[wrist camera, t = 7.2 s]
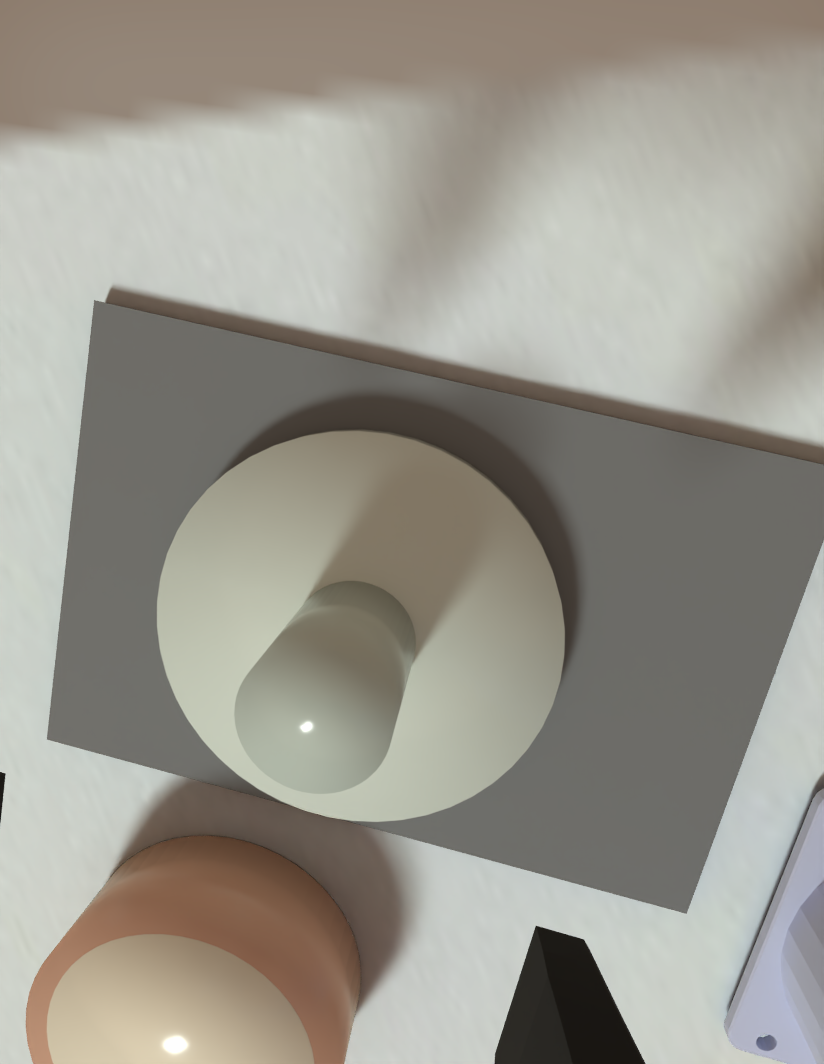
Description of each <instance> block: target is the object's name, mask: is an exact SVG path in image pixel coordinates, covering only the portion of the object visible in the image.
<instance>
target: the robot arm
mask: <svg viewBox="0 0 824 1064" xmlns="http://www.w3.org/2000/svg"><path fill="white" fill-rule="evenodd" d="M4 782H5V773H1V772H0V821H1V812H2V802H3V792H4ZM724 1028H725V1031H726V1034H727V1036H728V1039H729V1042H730V1043H731V1044H732V1045H733V1046H734V1047H735V1048H737V1049H739V1050H742V1051H745V1052H749V1053H752V1054H756V1055H759V1056H763V1057H766V1058H770V1059H773V1060H777V1061H780V1062H784V1063H787V1064H824V788H823V789H822V790H820V791H819V792H817V794H816V795H815V797H814V798H813V800H812V803H811V805H810V808H809V810H808V813H807V815H806V818H805V820H804V823H803V825H802V828H801V830H800V833H799V835H798V838H797V840H796V843H795V845H794V848H793V850H792V853H791V855H790V858H789V860H788V863H787V865H786V868H785V870H784V873H783V876H782V878H781V881H780V883H779V886H778V888H777V891H776V893H775V896H774V898H773V901H772V903H771V906H770V908H769V911H768V913H767V916H766V918H765V921H764V923H763V926H762V928H761V931H760V933H759V936H758V938H757V941H756V943H755V946H754V948H753V951H752V953H751V956H750V958H749V961H748V963H747V966H746V968H745V971H744V973H743V976H742V978H741V981H740V983H739V986H738V988H737V991H736V993H735V996H734V998H733V1001H732V1003H731V1006H730V1008H729V1011H728V1013H727V1016H726V1019H725V1022H724ZM764 1034H766V1035H768V1036H765V1037H759V1036H761V1035H764ZM495 1064H645V1062H644V1060H643V1058H642V1056H641V1054H640V1052H639V1050H638V1048H637V1046H636V1044H635V1042H634V1040H633V1038H632V1036H631V1034H630V1032H629V1030H628V1028H627V1026H626V1024H625V1022H624V1020H623V1018H622V1016H621V1014H620V1012H619V1010H618V1008H617V1006H616V1004H615V1001H614V999H613V997H612V995H611V993H610V991H609V989H608V987H607V985H606V983H605V981H604V979H603V977H602V975H601V972H600V970H599V968H598V966H597V964H596V962H595V960H594V958H593V956H592V954H591V952H590V950H589V948H588V946H587V944H586V943H585V941H584V939H580V938H577V937H573V936H570V935H566V934H563V933H559V932H556V931H552V930H549V929H545V928H542V927H538V926H536V927H535V930H534V934H533V937H532V940H531V943H530V946H529V949H528V952H527V955H526V959H525V962H524V965H523V968H522V971H521V974H520V977H519V981H518V984H517V987H516V990H515V993H514V996H513V999H512V1003H511V1006H510V1009H509V1012H508V1015H507V1018H506V1021H505V1025H504V1028H503V1031H502V1034H501V1037H500V1040H499V1043H498V1046H497V1050H496V1053H495Z"/></svg>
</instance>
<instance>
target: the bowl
mask: <svg viewBox="0 0 824 1064" xmlns="http://www.w3.org/2000/svg"><path fill="white" fill-rule="evenodd" d="M360 986H361V966H360V959H359V952H358V949H357V945H356V942H355V939H354V936H353V933H352V931H351V929H350V927H349V924H348V922H347V920H346V918H345V917H344V915H343V914H342V912H341V910H340V909H339V907H338V905H337V904H336V903H335V902H334V900H333V899H332V898H331V897H330V895H329V894H328V893H327V892H326V890H325V889H324V888H323V887H322V886H321V885H320V884H319V883H318V882H317V881H316V880H315V879H313V878H312V877H311V876H310V875H309V874H307V873H306V872H305V871H304V870H302V869H301V868H300V867H298V866H297V865H295V864H294V863H292V862H291V861H289V860H287V859H286V858H284V857H282V856H281V855H279V854H276V853H274V852H272V851H270V850H268V849H266V848H264V847H261V846H258V845H255V844H252V843H249V842H246V841H242V840H237V839H232V838H228V837H218V836H188V837H181V838H175V839H171V840H167V841H164V842H161V843H157V844H155V845H153V846H151V847H148V848H146V849H144V850H142V851H140V852H139V853H137V854H136V855H134V856H133V857H131V858H129V859H128V860H127V861H126V862H125V863H124V864H123V865H121V866H120V867H119V868H118V869H117V870H116V871H115V873H114V874H113V875H112V876H111V877H110V879H109V880H108V881H107V882H106V884H105V885H104V886H103V888H102V889H101V890H100V891H99V893H98V894H97V895H96V896H95V898H94V899H93V900H92V902H91V903H90V904H89V905H88V907H87V908H86V909H85V910H84V912H83V913H82V914H81V915H80V917H79V918H78V919H77V921H76V922H75V923H74V924H73V926H72V927H71V928H70V929H69V931H68V932H67V933H66V935H65V936H64V937H63V938H62V940H61V941H60V942H59V943H58V945H57V946H56V947H55V949H54V950H53V951H52V952H51V954H50V955H49V956H48V957H47V959H46V960H45V961H44V963H43V964H42V966H41V968H40V970H39V971H38V973H37V975H36V977H35V979H34V982H33V984H32V987H31V990H30V993H29V998H28V1003H27V1008H26V1032H27V1041H28V1046H29V1050H30V1054H31V1058H32V1061H33V1064H344V1062H345V1057H346V1053H347V1048H348V1044H349V1039H350V1035H351V1030H352V1026H353V1021H354V1017H355V1012H356V1008H357V1003H358V999H359V993H360Z"/></svg>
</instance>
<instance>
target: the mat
mask: <svg viewBox="0 0 824 1064" xmlns="http://www.w3.org/2000/svg"><path fill="white" fill-rule="evenodd" d="M353 429H365V430H375V431H384V432H392V433H396V434H400V435H404V436H408V437H412V438H416V439H419V440H422V441H424V442H427V443H430V444H432V445H435V446H437V447H440V448H443V449H444V450H446V451H448V452H450V453H452V454H454V455H455V456H457V457H459V458H461V459H463V460H465V461H466V462H468V463H469V464H471V465H472V466H474V467H475V468H476V469H478V470H479V471H480V472H482V473H483V474H485V475H486V476H487V477H489V478H490V479H491V480H492V481H493V482H494V483H495V484H496V485H497V486H498V487H499V488H500V489H501V490H503V491H504V492H505V493H506V494H507V495H508V496H509V497H510V498H511V500H512V501H513V502H514V503H515V505H516V506H517V507H518V508H519V510H520V511H521V512H522V513H523V515H524V516H525V517H526V518H527V520H528V521H529V523H530V525H531V526H532V528H533V530H534V531H535V533H536V535H537V536H538V538H539V540H540V541H541V544H542V546H543V548H544V551H545V553H546V555H547V558H548V560H549V562H550V564H551V567H552V570H553V574H554V577H555V581H556V584H557V588H558V592H559V595H560V599H561V603H562V611H563V619H564V627H565V649H564V661H563V667H562V673H561V680H560V683H559V687H558V690H557V693H556V696H555V700H554V703H553V706H552V708H551V710H550V712H549V714H548V716H547V718H546V720H545V723H544V725H543V727H542V729H541V730H540V732H539V733H538V735H537V736H536V738H535V739H534V741H533V742H532V744H531V745H530V747H529V748H528V749H527V751H526V752H525V753H524V754H523V755H522V756H521V757H520V758H519V760H518V761H517V762H516V763H515V764H514V765H513V766H512V767H511V768H510V769H509V770H508V771H507V772H506V773H504V774H503V775H502V776H501V777H500V778H499V779H497V780H496V781H495V782H494V783H493V784H491V785H490V786H488V787H487V788H485V789H483V790H482V791H480V792H479V793H477V794H476V795H474V796H473V797H471V798H469V799H467V800H464V801H462V802H460V803H458V804H456V805H454V806H452V807H450V808H447V809H444V810H441V811H438V812H435V813H432V814H429V815H425V816H420V817H415V818H410V819H405V820H396V821H383V822H367V821H350V820H345V821H348V822H352V823H356V824H359V825H363V826H367V827H370V828H374V829H378V830H381V831H385V832H389V833H392V834H396V835H400V836H403V837H407V838H411V839H414V840H418V841H422V842H425V843H429V844H433V845H436V846H440V847H444V848H447V849H451V850H455V851H458V852H462V853H466V854H469V855H473V856H477V857H480V858H484V859H488V860H491V861H495V862H499V863H502V864H506V865H510V866H514V867H517V868H521V869H525V870H528V871H532V872H536V873H539V874H543V875H547V876H550V877H554V878H558V879H561V880H565V881H569V882H572V883H576V884H580V885H583V886H587V887H591V888H594V889H598V890H602V891H605V892H609V893H613V894H616V895H620V896H624V897H627V898H631V899H635V900H638V901H642V902H646V903H649V904H653V905H657V906H660V907H664V908H668V909H671V910H675V911H679V912H682V913H686V914H687V911H688V908H689V905H690V903H691V900H692V897H693V895H694V892H695V889H696V886H697V884H698V881H699V878H700V876H701V873H702V870H703V867H704V865H705V862H706V859H707V856H708V854H709V851H710V848H711V846H712V843H713V840H714V837H715V835H716V832H717V829H718V826H719V824H720V821H721V818H722V816H723V813H724V810H725V807H726V805H727V802H728V799H729V796H730V794H731V791H732V788H733V786H734V783H735V780H736V777H737V775H738V772H739V769H740V766H741V764H742V761H743V758H744V756H745V753H746V750H747V747H748V745H749V742H750V739H751V736H752V734H753V731H754V728H755V726H756V723H757V720H758V717H759V715H760V712H761V709H762V706H763V704H764V701H765V698H766V696H767V693H768V690H769V687H770V685H771V682H772V679H773V677H774V674H775V671H776V668H777V666H778V663H779V660H780V657H781V655H782V652H783V649H784V647H785V644H786V641H787V638H788V636H789V633H790V630H791V627H792V625H793V622H794V619H795V617H796V614H797V611H798V608H799V606H800V603H801V600H802V597H803V595H804V592H805V589H806V587H807V584H808V581H809V578H810V576H811V573H812V570H813V567H814V565H815V562H816V559H817V557H818V554H819V551H820V548H821V546H822V543H823V540H824V465H823V464H819V463H814V462H810V461H805V460H801V459H797V458H792V457H788V456H783V455H779V454H774V453H770V452H765V451H761V450H757V449H752V448H748V447H743V446H739V445H734V444H730V443H725V442H721V441H717V440H712V439H708V438H703V437H699V436H694V435H690V434H686V433H681V432H677V431H672V430H668V429H663V428H659V427H654V426H650V425H646V424H641V423H637V422H632V421H628V420H623V419H619V418H614V417H610V416H606V415H601V414H597V413H592V412H588V411H583V410H579V409H575V408H570V407H566V406H561V405H557V404H552V403H548V402H543V401H539V400H535V399H530V398H526V397H521V396H517V395H512V394H508V393H503V392H499V391H495V390H490V389H486V388H481V387H477V386H472V385H468V384H464V383H459V382H455V381H450V380H446V379H441V378H437V377H432V376H428V375H424V374H419V373H415V372H410V371H406V370H401V369H397V368H392V367H388V366H384V365H379V364H375V363H370V362H366V361H361V360H357V359H353V358H348V357H344V356H339V355H335V354H330V353H326V352H321V351H317V350H313V349H308V348H304V347H299V346H295V345H290V344H286V343H281V342H277V341H273V340H268V339H264V338H259V337H255V336H250V335H246V334H241V333H237V332H233V331H228V330H224V329H219V328H215V327H210V326H206V325H202V324H197V323H193V322H188V321H184V320H179V319H175V318H170V317H166V316H162V315H157V314H153V313H148V312H144V311H139V310H135V309H130V308H126V307H122V306H117V305H113V304H108V303H104V302H99V301H95V300H94V308H93V318H92V327H91V336H90V345H89V355H88V364H87V373H86V382H85V392H84V401H83V410H82V419H81V429H80V438H79V447H78V457H77V466H76V475H75V484H74V494H73V503H72V512H71V521H70V531H69V540H68V549H67V558H66V568H65V577H64V586H63V595H62V605H61V614H60V623H59V632H58V642H57V651H56V660H55V670H54V679H53V688H52V697H51V707H50V716H49V725H48V734H47V739H48V740H51V741H55V742H59V743H62V744H66V745H70V746H73V747H77V748H81V749H84V750H88V751H92V752H95V753H99V754H103V755H106V756H110V757H114V758H117V759H121V760H125V761H128V762H132V763H136V764H139V765H143V766H147V767H150V768H154V769H158V770H161V771H165V772H169V773H172V774H176V775H180V776H183V777H187V778H191V779H194V780H198V781H202V782H205V783H209V784H213V785H216V786H220V787H224V788H227V789H231V790H235V791H238V792H242V793H246V794H249V795H253V796H257V797H260V798H264V799H268V800H271V801H275V802H279V803H282V804H286V805H289V804H287V803H284V802H282V801H280V800H278V799H276V798H274V797H272V796H270V795H268V794H267V793H265V792H263V791H261V790H259V789H257V788H256V787H255V786H253V785H252V784H250V783H249V782H247V781H246V780H244V779H243V778H242V777H240V776H239V775H237V774H236V773H235V772H234V771H233V770H232V769H231V768H229V767H228V766H227V765H226V764H225V763H224V762H223V761H221V760H220V759H219V758H218V757H217V756H216V755H215V753H214V752H213V751H212V750H211V749H210V748H209V747H208V746H207V745H206V744H205V742H204V741H203V740H202V739H201V738H200V736H199V735H198V733H197V732H196V731H195V729H194V728H193V726H192V725H191V724H190V722H189V721H188V719H187V718H186V716H185V714H184V712H183V710H182V709H181V707H180V705H179V703H178V701H177V699H176V698H175V695H174V693H173V690H172V688H171V685H170V683H169V680H168V678H167V675H166V671H165V668H164V664H163V660H162V656H161V652H160V646H159V638H158V631H157V598H158V591H159V584H160V577H161V573H162V570H163V566H164V563H165V559H166V556H167V553H168V550H169V548H170V546H171V544H172V541H173V539H174V537H175V535H176V532H177V530H178V529H179V527H180V525H181V524H182V522H183V521H184V519H185V517H186V516H187V514H188V513H189V511H190V509H191V508H192V507H193V506H194V505H195V503H196V502H197V501H198V500H199V499H200V497H201V496H202V495H203V494H204V493H205V492H206V490H207V489H208V488H209V487H211V486H212V485H213V484H214V483H215V482H216V481H217V480H218V479H220V478H221V477H222V476H223V475H224V474H225V473H226V472H228V471H229V470H231V469H232V468H234V467H235V466H237V465H238V464H240V463H241V462H243V461H244V460H246V459H247V458H249V457H251V456H253V455H255V454H257V453H259V452H261V451H264V450H266V449H268V448H270V447H272V446H274V445H277V444H280V443H283V442H286V441H289V440H293V439H296V438H299V437H302V436H305V435H309V434H314V433H320V432H326V431H333V430H353ZM290 806H292V805H290ZM293 807H294V806H293ZM341 820H344V819H341Z"/></svg>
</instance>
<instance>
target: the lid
mask: <svg viewBox="0 0 824 1064" xmlns="http://www.w3.org/2000/svg"><path fill="white" fill-rule="evenodd" d="M157 631H158V638H159V646H160V652H161V656H162V660H163V664H164V668H165V671H166V675H167V678H168V680H169V683H170V685H171V688H172V690H173V693H174V695H175V698H176V699H177V701H178V703H179V705H180V707H181V709H182V710H183V712H184V714H185V716H186V718H187V719H188V721H189V722H190V724H191V725H192V726H193V728H194V729H195V731H196V732H197V733H198V735H199V736H200V738H201V739H202V740H203V741H204V742H205V744H206V745H207V746H208V747H209V748H210V749H211V750H212V751H213V752H214V753H215V755H216V756H217V757H218V758H219V759H220V760H221V761H223V762H224V763H225V764H226V765H227V766H228V767H229V768H231V769H232V770H233V771H234V772H235V773H236V774H237V775H239V776H240V777H242V778H243V779H244V780H246V781H247V782H249V783H250V784H252V785H253V786H255V787H256V788H257V789H259V790H261V791H263V792H265V793H267V794H268V795H270V796H272V797H274V798H276V799H278V800H280V801H282V802H284V803H287V804H289V805H292V806H294V807H297V808H299V809H302V810H304V811H308V812H311V813H315V814H319V815H322V816H326V817H331V818H337V819H344V820H350V821H367V822H383V821H396V820H405V819H410V818H415V817H420V816H425V815H429V814H432V813H435V812H438V811H441V810H444V809H447V808H450V807H452V806H454V805H456V804H458V803H460V802H462V801H464V800H467V799H469V798H471V797H473V796H474V795H476V794H477V793H479V792H480V791H482V790H483V789H485V788H487V787H488V786H490V785H491V784H493V783H494V782H495V781H496V780H497V779H499V778H500V777H501V776H502V775H503V774H504V773H506V772H507V771H508V770H509V769H510V768H511V767H512V766H513V765H514V764H515V763H516V762H517V761H518V760H519V758H520V757H521V756H522V755H523V754H524V753H525V752H526V751H527V749H528V748H529V747H530V745H531V744H532V742H533V741H534V739H535V738H536V736H537V735H538V733H539V732H540V730H541V729H542V727H543V725H544V723H545V720H546V718H547V716H548V714H549V712H550V710H551V708H552V706H553V703H554V700H555V696H556V693H557V690H558V687H559V683H560V680H561V673H562V667H563V661H564V649H565V627H564V619H563V611H562V603H561V599H560V595H559V592H558V588H557V584H556V581H555V577H554V574H553V570H552V567H551V564H550V562H549V560H548V558H547V555H546V553H545V551H544V548H543V546H542V544H541V541H540V540H539V538H538V536H537V535H536V533H535V531H534V530H533V528H532V526H531V525H530V523H529V521H528V520H527V518H526V517H525V516H524V515H523V513H522V512H521V511H520V510H519V508H518V507H517V506H516V505H515V503H514V502H513V501H512V500H511V498H510V497H509V496H508V495H507V494H506V493H505V492H504V491H503V490H501V489H500V488H499V487H498V486H497V485H496V484H495V483H494V482H493V481H492V480H491V479H490V478H489V477H487V476H486V475H485V474H483V473H482V472H480V471H479V470H478V469H476V468H475V467H474V466H472V465H471V464H469V463H468V462H466V461H465V460H463V459H461V458H459V457H457V456H455V455H454V454H452V453H450V452H448V451H446V450H444V449H443V448H440V447H437V446H435V445H432V444H430V443H427V442H424V441H422V440H419V439H416V438H412V437H408V436H404V435H400V434H396V433H392V432H384V431H375V430H365V429H353V430H333V431H326V432H320V433H314V434H309V435H305V436H302V437H299V438H296V439H293V440H289V441H286V442H283V443H280V444H277V445H274V446H272V447H270V448H268V449H266V450H264V451H261V452H259V453H257V454H255V455H253V456H251V457H249V458H247V459H246V460H244V461H243V462H241V463H240V464H238V465H237V466H235V467H234V468H232V469H231V470H229V471H228V472H226V473H225V474H224V475H223V476H222V477H221V478H220V479H218V480H217V481H216V482H215V483H214V484H213V485H212V486H211V487H209V488H208V489H207V490H206V492H205V493H204V494H203V495H202V496H201V497H200V499H199V500H198V501H197V502H196V503H195V505H194V506H193V507H192V508H191V509H190V511H189V513H188V514H187V516H186V517H185V519H184V521H183V522H182V524H181V525H180V527H179V529H178V530H177V532H176V535H175V537H174V539H173V541H172V544H171V546H170V548H169V550H168V553H167V556H166V559H165V563H164V566H163V570H162V573H161V577H160V584H159V591H158V598H157Z"/></svg>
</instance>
